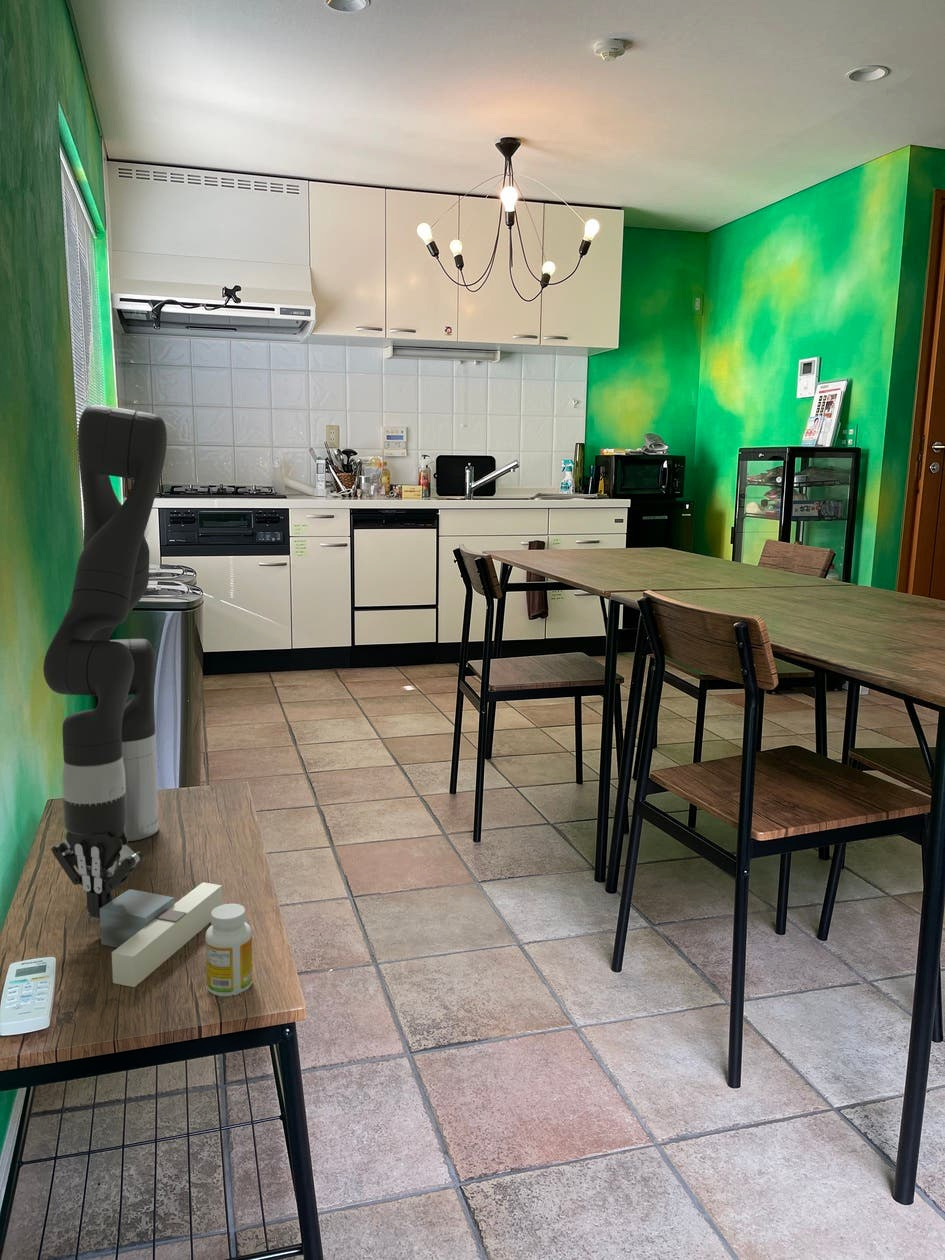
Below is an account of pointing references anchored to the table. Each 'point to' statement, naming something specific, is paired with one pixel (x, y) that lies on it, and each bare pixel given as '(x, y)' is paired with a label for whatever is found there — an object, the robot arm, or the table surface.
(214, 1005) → the table surface
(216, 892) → the cream rectangular bar
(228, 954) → the supplement bottle
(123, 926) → the block
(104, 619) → the robot arm
